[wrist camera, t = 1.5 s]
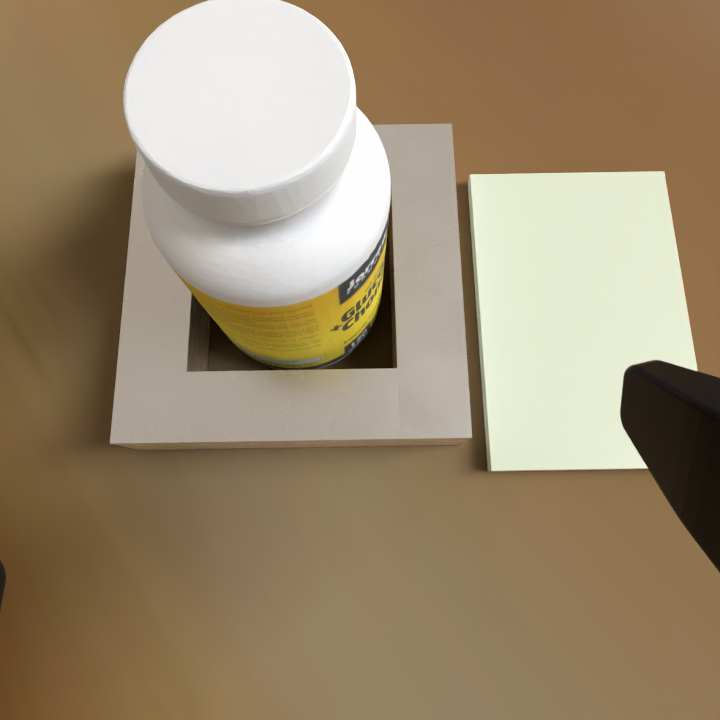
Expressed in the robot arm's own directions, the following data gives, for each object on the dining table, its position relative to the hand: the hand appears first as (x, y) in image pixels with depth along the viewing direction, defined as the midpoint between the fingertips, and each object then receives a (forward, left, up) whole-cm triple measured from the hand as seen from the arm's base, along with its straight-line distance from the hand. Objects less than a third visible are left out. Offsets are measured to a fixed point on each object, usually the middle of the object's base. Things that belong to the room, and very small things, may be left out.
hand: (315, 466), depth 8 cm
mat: (+6, -9, -13) cm, 17 cm away
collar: (+7, +2, -13) cm, 15 cm away
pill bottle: (+7, +2, -13) cm, 15 cm away
